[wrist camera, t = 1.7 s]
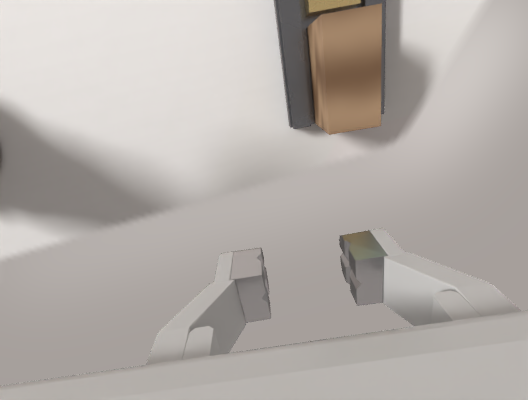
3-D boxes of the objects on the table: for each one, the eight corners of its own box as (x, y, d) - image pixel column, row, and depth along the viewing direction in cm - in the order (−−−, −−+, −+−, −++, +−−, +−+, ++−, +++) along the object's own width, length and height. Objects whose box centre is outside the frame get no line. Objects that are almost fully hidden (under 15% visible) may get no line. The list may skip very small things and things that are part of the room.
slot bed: (377, 110, 34) (386, 113, 32) (289, 125, 35) (291, 129, 33) (378, -139, 26) (390, -159, 23) (259, -114, 26) (260, -132, 24)
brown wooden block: (356, 116, 33) (380, 126, 27) (315, 123, 34) (329, 134, 27) (354, 18, 29) (381, 3, 23) (306, 27, 30) (321, 14, 23)
